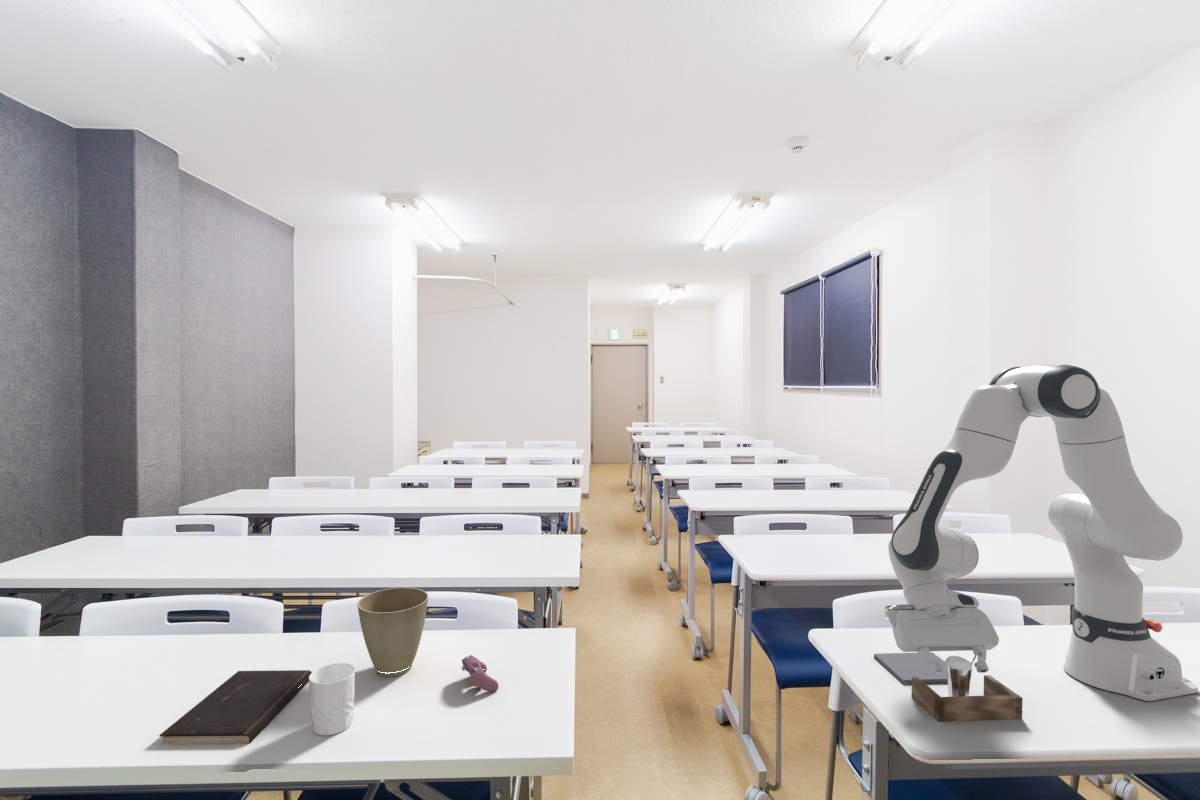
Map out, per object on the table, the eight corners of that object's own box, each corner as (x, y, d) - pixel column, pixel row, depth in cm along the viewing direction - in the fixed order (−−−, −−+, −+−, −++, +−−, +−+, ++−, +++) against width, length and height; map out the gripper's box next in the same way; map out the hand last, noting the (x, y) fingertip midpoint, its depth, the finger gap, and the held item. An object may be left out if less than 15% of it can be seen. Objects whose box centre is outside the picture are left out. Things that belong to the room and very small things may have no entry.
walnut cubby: (989, 694, 120) (989, 675, 119) (1022, 718, 111) (1022, 698, 111) (911, 696, 119) (911, 677, 119) (938, 721, 110) (938, 700, 110)
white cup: (343, 708, 115) (342, 658, 114) (364, 723, 110) (363, 671, 109) (302, 727, 109) (301, 674, 108) (322, 743, 104) (321, 688, 103)
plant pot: (342, 679, 126) (341, 606, 125) (390, 649, 140) (389, 584, 139) (399, 692, 121) (398, 616, 120) (442, 660, 135) (441, 591, 134)
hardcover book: (159, 747, 104) (159, 734, 103) (238, 681, 127) (238, 670, 126) (250, 746, 104) (249, 733, 104) (312, 680, 127) (312, 670, 127)
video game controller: (469, 681, 128) (454, 657, 126) (487, 668, 130) (473, 643, 128) (482, 703, 119) (466, 677, 118) (501, 688, 121) (486, 662, 119)
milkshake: (980, 711, 113) (981, 660, 113) (949, 708, 114) (950, 658, 114) (970, 698, 118) (971, 650, 117) (941, 696, 119) (942, 647, 119)
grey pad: (932, 655, 136) (932, 652, 136) (967, 681, 124) (967, 678, 124) (874, 657, 136) (874, 653, 136) (903, 683, 124) (903, 680, 124)
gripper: (890, 599, 123) (916, 667, 113) (984, 597, 123) (1018, 665, 114) (878, 611, 127) (903, 678, 118) (969, 610, 128) (1001, 676, 119)
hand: (960, 672), depth 116 cm, fingers open, 8 cm apart
